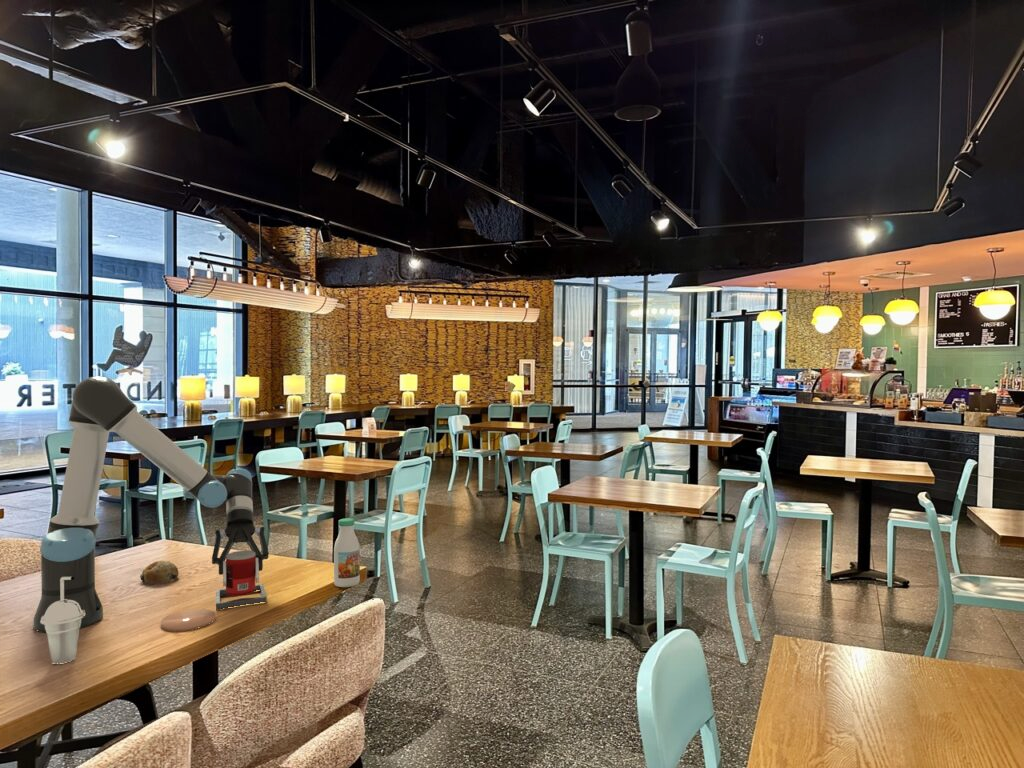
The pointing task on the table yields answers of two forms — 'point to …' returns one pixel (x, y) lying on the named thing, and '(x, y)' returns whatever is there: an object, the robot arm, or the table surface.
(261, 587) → the square metal frame
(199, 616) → the terracotta plate
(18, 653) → the table surface
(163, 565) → the bread roll
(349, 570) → the milk bottle
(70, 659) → the cup with straw
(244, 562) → the canned food
